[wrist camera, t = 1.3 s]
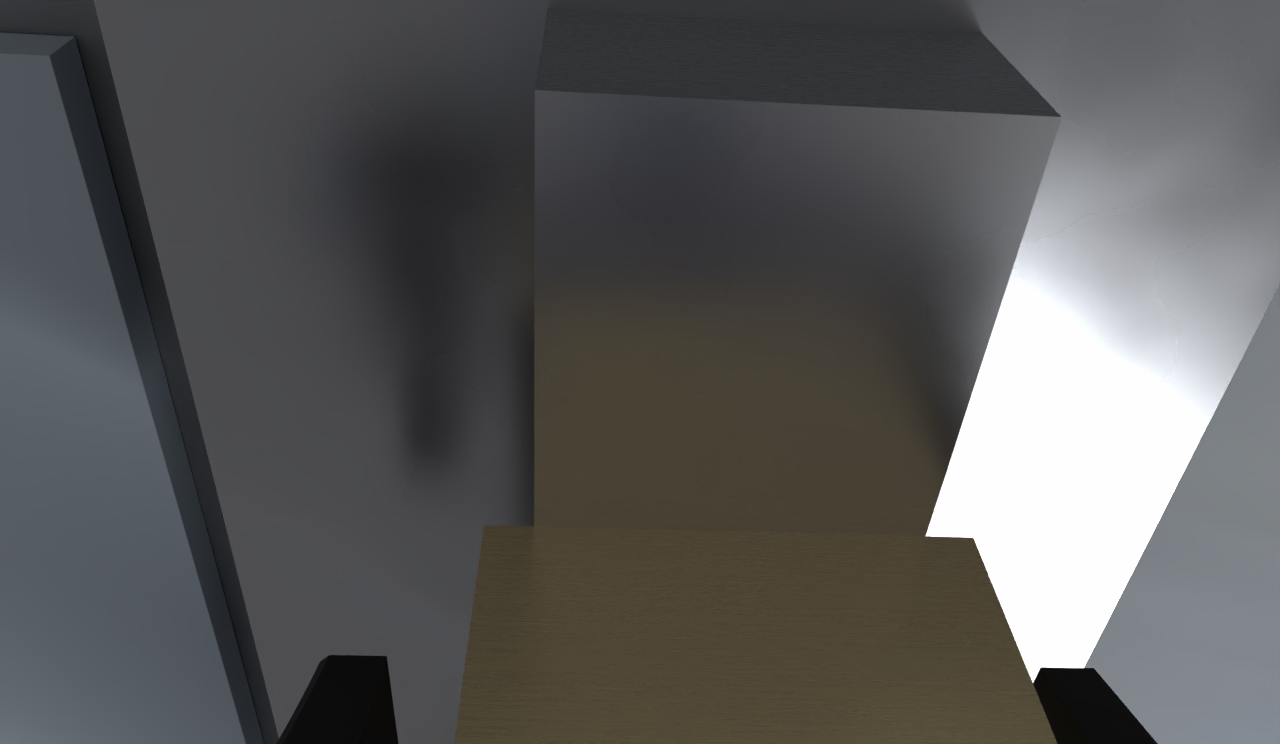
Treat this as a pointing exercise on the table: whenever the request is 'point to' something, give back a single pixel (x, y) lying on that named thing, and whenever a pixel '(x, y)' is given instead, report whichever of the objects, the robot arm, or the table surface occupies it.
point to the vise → (694, 285)
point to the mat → (93, 455)
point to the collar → (739, 641)
